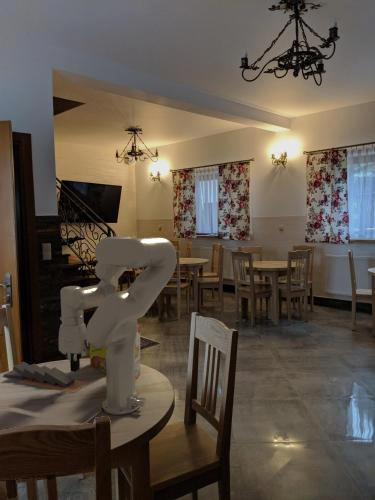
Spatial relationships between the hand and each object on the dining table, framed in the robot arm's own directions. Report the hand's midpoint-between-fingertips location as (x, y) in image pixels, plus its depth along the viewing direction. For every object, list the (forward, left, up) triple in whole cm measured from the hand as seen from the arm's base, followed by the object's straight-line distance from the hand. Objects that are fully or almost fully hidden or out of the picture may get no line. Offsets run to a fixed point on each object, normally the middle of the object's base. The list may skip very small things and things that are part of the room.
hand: (75, 370), depth 139 cm
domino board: (+11, 0, -7) cm, 13 cm away
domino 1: (+23, 0, -5) cm, 23 cm away
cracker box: (-15, -11, -7) cm, 20 cm away
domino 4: (+8, 0, -5) cm, 9 cm away
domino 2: (+18, 0, -5) cm, 19 cm away
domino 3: (+13, 0, -5) cm, 14 cm away
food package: (+2, -17, -7) cm, 19 cm away
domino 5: (+3, 0, -5) cm, 6 cm away
